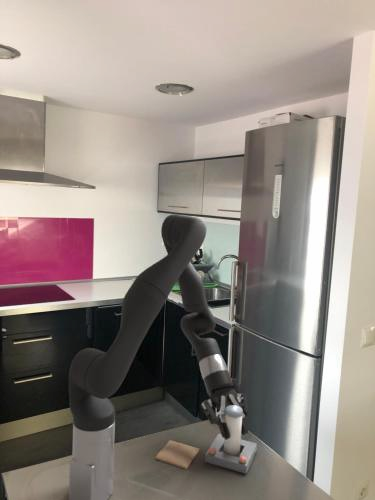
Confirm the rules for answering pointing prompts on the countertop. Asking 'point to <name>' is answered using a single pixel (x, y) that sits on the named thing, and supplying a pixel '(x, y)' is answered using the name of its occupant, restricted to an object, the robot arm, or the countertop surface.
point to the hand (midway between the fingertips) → (236, 436)
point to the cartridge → (233, 430)
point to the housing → (230, 461)
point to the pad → (177, 454)
